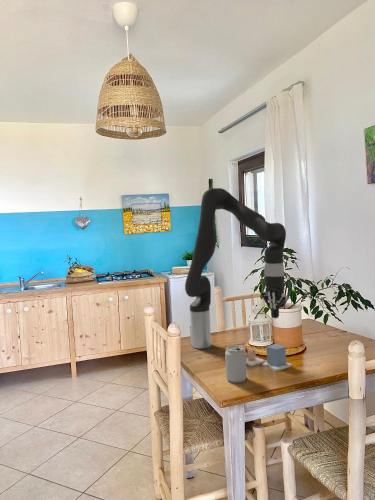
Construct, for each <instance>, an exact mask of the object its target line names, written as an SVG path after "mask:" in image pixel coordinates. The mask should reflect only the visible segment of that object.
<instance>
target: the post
mask: <svg viewBox="0 0 375 500" xmlns="http://www.w3.org/2000/svg"><path fill="white" fill-rule="evenodd" d="M261 366H262V367H265V368H268V369H271V370H273V371H276V372H279V371H282V370H284V369H288V368H290V367H293V366H292V363H289V362H287V361H286V364H283V365H281V366H278V367H276V366H273V365H271V364H268V363H267V361H266V362H262V363H261Z"/></svg>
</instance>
